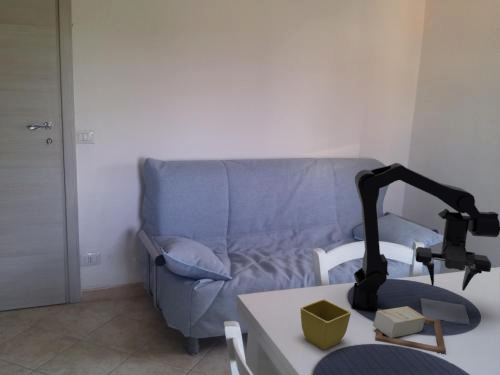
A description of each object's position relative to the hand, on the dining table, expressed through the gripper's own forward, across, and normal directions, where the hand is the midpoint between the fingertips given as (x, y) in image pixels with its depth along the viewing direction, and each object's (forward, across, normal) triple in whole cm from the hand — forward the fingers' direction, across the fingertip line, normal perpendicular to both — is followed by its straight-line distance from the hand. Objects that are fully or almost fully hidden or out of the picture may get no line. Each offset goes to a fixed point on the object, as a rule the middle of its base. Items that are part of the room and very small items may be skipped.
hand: (447, 287), depth 124 cm
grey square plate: (+8, 0, 0) cm, 8 cm away
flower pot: (+8, -30, -29) cm, 42 cm away
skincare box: (+6, -9, -12) cm, 15 cm away
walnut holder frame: (+8, -10, -16) cm, 20 cm away
